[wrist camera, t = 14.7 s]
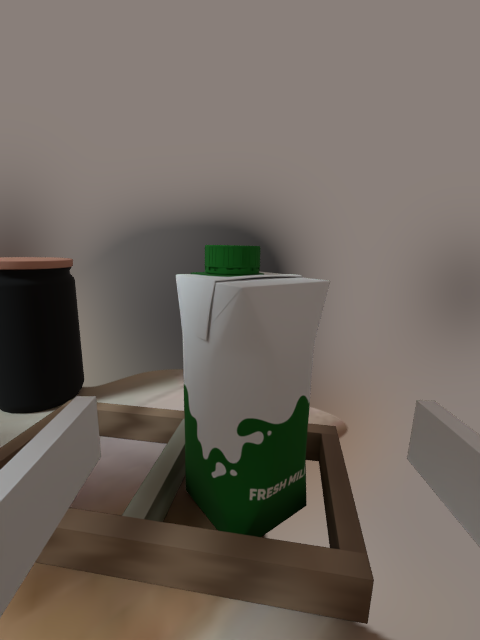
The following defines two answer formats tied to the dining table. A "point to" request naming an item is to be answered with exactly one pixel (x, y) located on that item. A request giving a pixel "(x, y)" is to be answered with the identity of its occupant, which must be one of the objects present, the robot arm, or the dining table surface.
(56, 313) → the coffee jar
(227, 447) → the fresh milk carton
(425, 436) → the robot arm
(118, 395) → the dining table surface
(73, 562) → the walnut slot rack
